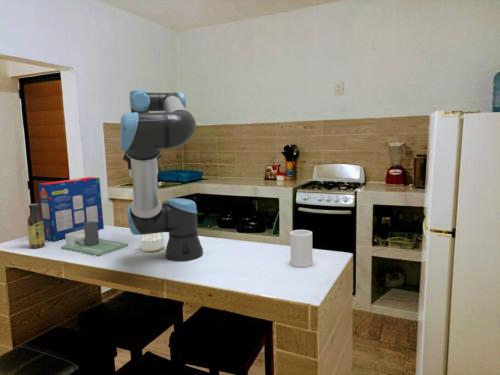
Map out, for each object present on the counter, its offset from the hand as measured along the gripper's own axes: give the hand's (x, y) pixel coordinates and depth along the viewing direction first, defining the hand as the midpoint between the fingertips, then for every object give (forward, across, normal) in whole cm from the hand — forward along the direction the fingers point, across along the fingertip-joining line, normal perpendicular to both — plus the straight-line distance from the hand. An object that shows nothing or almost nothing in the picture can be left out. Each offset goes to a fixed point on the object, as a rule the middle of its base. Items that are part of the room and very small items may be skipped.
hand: (144, 175), depth 166 cm
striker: (+30, +14, -23) cm, 40 cm away
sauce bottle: (+32, +25, -45) cm, 61 cm away
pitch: (+32, +14, -20) cm, 40 cm away
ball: (+29, +14, -29) cm, 43 cm away
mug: (+32, -8, +72) cm, 79 cm away
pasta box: (+32, +3, -49) cm, 59 cm away
